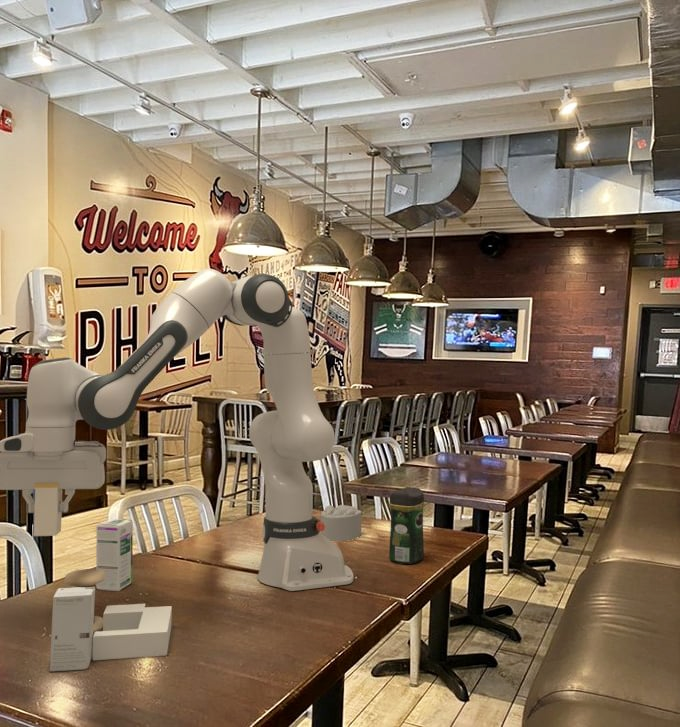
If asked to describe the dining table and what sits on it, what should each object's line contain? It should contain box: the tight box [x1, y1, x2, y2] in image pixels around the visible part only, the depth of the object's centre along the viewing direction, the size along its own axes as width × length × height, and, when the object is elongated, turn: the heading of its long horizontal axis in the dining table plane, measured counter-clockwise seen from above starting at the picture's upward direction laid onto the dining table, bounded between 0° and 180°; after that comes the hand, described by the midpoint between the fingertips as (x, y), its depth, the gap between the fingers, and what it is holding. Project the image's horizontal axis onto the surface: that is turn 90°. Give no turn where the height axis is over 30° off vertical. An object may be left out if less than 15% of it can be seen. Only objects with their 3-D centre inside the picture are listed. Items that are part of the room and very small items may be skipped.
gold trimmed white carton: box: [33, 483, 63, 537], centre depth 124 cm, size 4×4×10 cm
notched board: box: [92, 603, 173, 661], centre depth 115 cm, size 12×14×4 cm
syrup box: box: [95, 518, 134, 592], centre depth 143 cm, size 6×6×14 cm
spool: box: [64, 568, 105, 635], centre depth 120 cm, size 7×7×10 cm
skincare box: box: [49, 586, 96, 672], centre depth 105 cm, size 6×4×12 cm
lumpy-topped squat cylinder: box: [320, 504, 362, 542], centre depth 188 cm, size 10×13×9 cm
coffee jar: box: [388, 486, 425, 565], centre depth 166 cm, size 10×8×19 cm
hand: (48, 512), depth 124 cm, fingers closed on gold trimmed white carton, 4 cm apart
